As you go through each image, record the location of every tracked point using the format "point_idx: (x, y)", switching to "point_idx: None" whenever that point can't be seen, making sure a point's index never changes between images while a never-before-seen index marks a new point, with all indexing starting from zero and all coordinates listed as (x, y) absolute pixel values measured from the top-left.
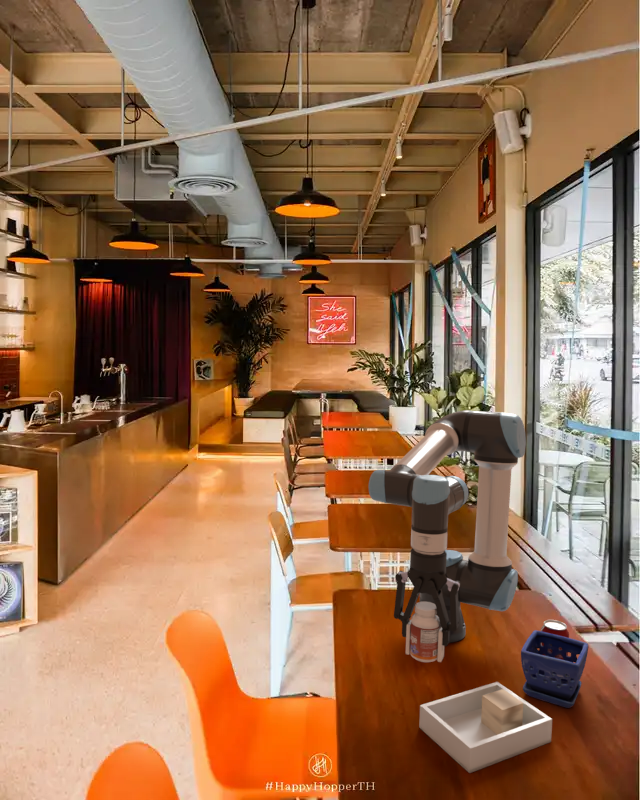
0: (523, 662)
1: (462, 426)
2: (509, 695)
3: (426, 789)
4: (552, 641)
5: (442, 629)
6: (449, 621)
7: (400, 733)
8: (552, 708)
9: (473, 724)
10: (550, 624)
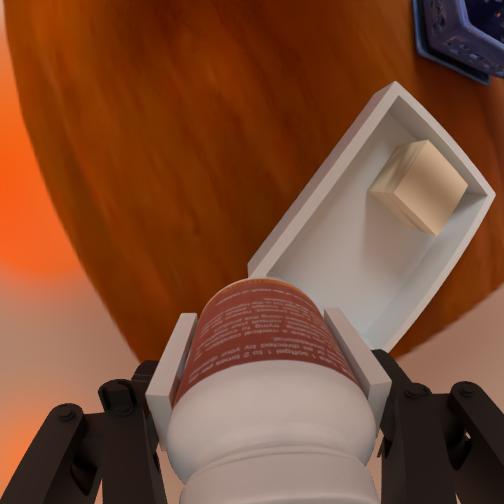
0: (453, 37)
1: None
2: (443, 165)
3: None
4: None
5: (382, 444)
6: (435, 406)
7: None
8: (457, 84)
9: (354, 207)
10: None
